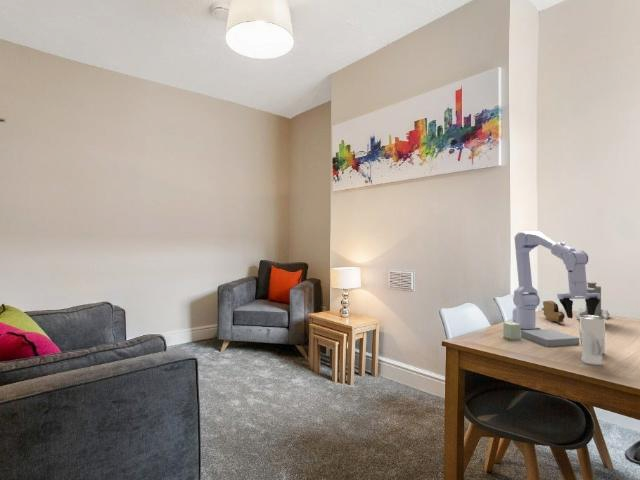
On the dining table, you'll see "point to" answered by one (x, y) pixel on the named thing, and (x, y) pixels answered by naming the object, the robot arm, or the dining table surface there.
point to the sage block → (512, 330)
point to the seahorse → (583, 312)
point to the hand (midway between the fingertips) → (580, 317)
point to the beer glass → (592, 339)
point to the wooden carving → (552, 311)
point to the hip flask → (597, 289)
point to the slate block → (550, 337)
